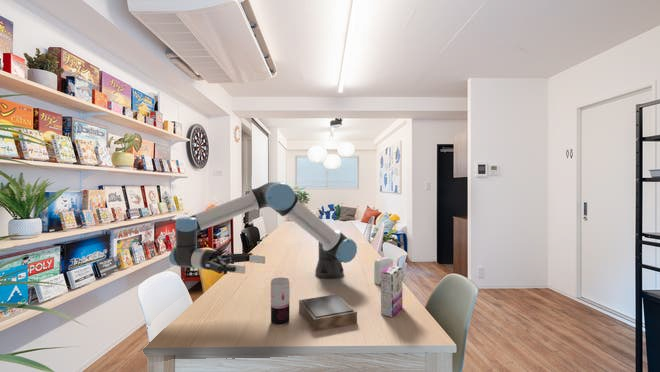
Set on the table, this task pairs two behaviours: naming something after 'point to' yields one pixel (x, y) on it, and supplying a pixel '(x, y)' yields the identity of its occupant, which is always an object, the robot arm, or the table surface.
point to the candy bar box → (391, 291)
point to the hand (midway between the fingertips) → (255, 264)
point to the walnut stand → (327, 312)
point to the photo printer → (381, 268)
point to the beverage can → (280, 301)
